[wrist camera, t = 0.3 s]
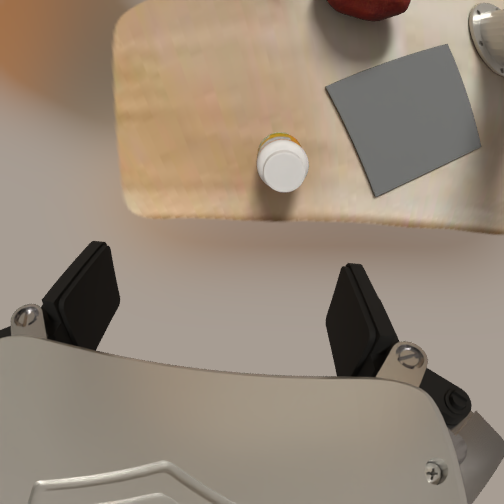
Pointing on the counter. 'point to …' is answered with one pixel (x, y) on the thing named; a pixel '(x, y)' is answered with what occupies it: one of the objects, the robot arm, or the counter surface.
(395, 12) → the fruit
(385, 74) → the slate mat
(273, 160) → the supplement bottle
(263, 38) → the counter surface
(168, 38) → the counter surface
